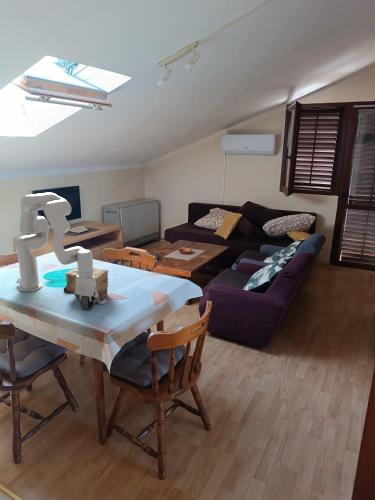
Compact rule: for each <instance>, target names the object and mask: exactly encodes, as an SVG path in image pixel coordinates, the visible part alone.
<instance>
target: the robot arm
mask: <svg viewBox="0 0 375 500" xmlns="http://www.w3.org/2000/svg"><path fill="white" fill-rule="evenodd" d="M20 211H21V212H20V218H19V220H20V221H19V232H20V234H21V236H19V237H17V238H16V239H15V240H14V247H15V251H16V253H17V259H18V267H19V268H18V269H19V275H20V277H19V278H17V280H16V281H15V282H16V284H19V286H18V290H19V291H21V292H27V293H28V292H29V293H30V292H34V291H37V290H40V289H41V288H42V287H43V285H42V283H41V282H40V281H39V271H38V262H37V261H38V260H37V257H36V255H35V254H34V253H33V251H37V250H41V249H43V248H45V247H46V246H47V243H48V237H49V232H50V230H49V229H50V227H51V229H52V231H53V237H52V250H53V253H54V254H55V257H56V259H57V260H58V262H59V263H60V264H62V265H65V266H67V265H70V264H73V263H76V264H77V265H76V266H77V267H78V270H77V271H76V273H78V276H77V277H76V285H75V292H74V293H75V294H76V295H75V294H74V295H75V296H77V297H78V298H79V300H80V302H81V296H87V297H89V308H90V309H91V308H93V306H94V304H93V300H94V299H95V298H97V297H98V296H99V295H98V293H97V289H96V281H95V277H94V276H93V268H94V262H93V261H94V260H93V259H94V258H93V252H92V250H89V249H86V248H84V247H82V246H78V245H77V246H73V247H69V248H65V247H64V245H63V241H62V240H63V236H64V235H65V234H66V233H67V232H68V231H69V230H70V228H71V226H70V224H69V223H70V222H69V221H68V220H67V218H66V217H67V216H69V215H70V214H71V213H72V206H71V204H70V202H69V201H68V200H67V199H65V198H63V197H61V196H59V195H57V194H56V193H54V192H43V193H34V194H27V195H23V196H22V197H21V199H20ZM39 211H43V213H44V215H45V217H44V216H41V215H39ZM94 294H95V296H94ZM91 297H92V298H91ZM80 307H81V308H82V304H81V303H80Z"/></svg>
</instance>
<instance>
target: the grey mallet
mask: <svg viewBox="0 0 375 500" xmlns="http://www.w3.org/2000/svg"><path fill="white" fill-rule="evenodd" d="M91 298H92V297H91ZM98 299H100V296H98V297H97V298H95V299H94V300H93V305H95V304H96V303H97V300H98ZM81 304H82V307H81V309H83V310H90V309H91V308H89V297H87V296H81V301H80V305H81Z"/></svg>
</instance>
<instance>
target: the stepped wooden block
mask: <svg viewBox="0 0 375 500" xmlns="http://www.w3.org/2000/svg"><path fill="white" fill-rule="evenodd" d="M77 270H78V266H77V267H75V268H73V269H70V270H69V271H68V272H65V278H66V279H65V280H66V281H65V282H66V286H67V291H73V292H75V285H76V277H77V276H78V273H76V271H77ZM108 275H109V270H108V269H107V270H106V269H101V268H94V267H93V276H94V277H95V281H96V289H97V293H98V295H99V296H100V299H102V298H103V299H105V297H106V296H108V288H109V276H108ZM74 295H75V296H77V295H76V294H74ZM94 296H95V294H94Z"/></svg>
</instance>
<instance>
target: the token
mask: <svg viewBox="0 0 375 500" xmlns="http://www.w3.org/2000/svg"><path fill="white" fill-rule="evenodd" d="M107 302H108V301H107V299H106V298H102V299H98V300H97V302H96V303H97V305H100V306H102V305H107V304H108V303H107Z"/></svg>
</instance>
